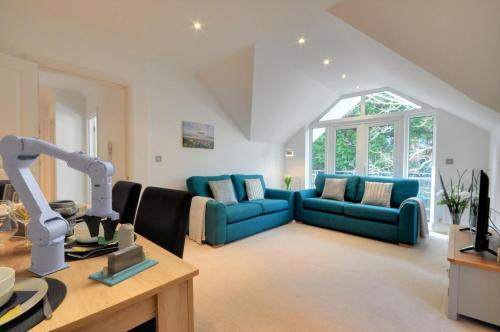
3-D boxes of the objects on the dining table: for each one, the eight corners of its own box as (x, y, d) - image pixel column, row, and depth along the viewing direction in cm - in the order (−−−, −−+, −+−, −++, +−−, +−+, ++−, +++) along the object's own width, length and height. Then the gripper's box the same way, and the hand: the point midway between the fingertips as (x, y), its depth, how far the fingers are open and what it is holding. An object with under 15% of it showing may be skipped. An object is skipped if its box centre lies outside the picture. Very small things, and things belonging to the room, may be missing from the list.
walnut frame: (107, 273, 75) (107, 253, 74) (135, 261, 84) (135, 243, 83) (115, 275, 73) (115, 256, 73) (142, 263, 82) (142, 245, 82)
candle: (127, 252, 93) (127, 226, 93) (115, 250, 94) (115, 225, 94) (136, 247, 98) (136, 222, 98) (125, 245, 100) (125, 221, 99)
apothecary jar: (83, 243, 101) (82, 201, 100) (46, 251, 92) (45, 205, 91) (75, 237, 109) (74, 197, 108) (40, 244, 100) (39, 201, 99)
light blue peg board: (89, 277, 73) (89, 265, 73) (136, 257, 89) (136, 247, 88) (112, 286, 68) (112, 273, 68) (158, 263, 84) (158, 253, 84)
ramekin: (126, 240, 106) (126, 230, 106) (109, 248, 97) (109, 237, 97) (108, 238, 108) (108, 229, 108) (91, 245, 99) (91, 235, 99)
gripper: (75, 197, 78) (75, 238, 78) (103, 201, 72) (103, 246, 72) (97, 194, 84) (97, 232, 85) (124, 198, 78) (124, 239, 79)
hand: (101, 238), depth 79 cm, fingers open, 7 cm apart
